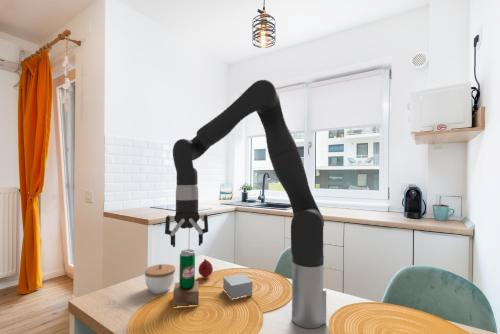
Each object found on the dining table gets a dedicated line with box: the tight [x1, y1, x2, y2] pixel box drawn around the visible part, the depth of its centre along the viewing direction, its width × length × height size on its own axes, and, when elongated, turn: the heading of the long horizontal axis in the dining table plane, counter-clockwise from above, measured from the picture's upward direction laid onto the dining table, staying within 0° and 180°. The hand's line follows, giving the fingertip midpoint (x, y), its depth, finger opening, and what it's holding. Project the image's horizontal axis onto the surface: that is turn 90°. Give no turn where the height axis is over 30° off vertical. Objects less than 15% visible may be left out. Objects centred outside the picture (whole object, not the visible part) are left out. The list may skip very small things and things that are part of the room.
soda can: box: [178, 248, 196, 289], centre depth 90 cm, size 5×5×12 cm
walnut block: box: [172, 280, 200, 308], centre depth 89 cm, size 8×8×5 cm
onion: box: [198, 258, 214, 279], centre depth 109 cm, size 6×6×8 cm
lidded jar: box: [144, 263, 176, 295], centre depth 98 cm, size 11×11×9 cm
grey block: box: [222, 273, 253, 300], centre depth 96 cm, size 8×8×5 cm
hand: (187, 245), depth 90 cm, fingers open, 8 cm apart
